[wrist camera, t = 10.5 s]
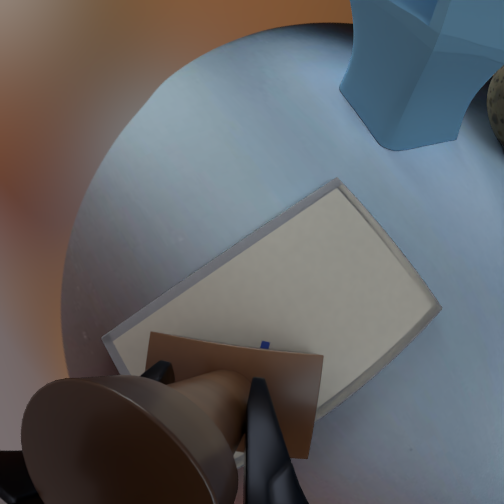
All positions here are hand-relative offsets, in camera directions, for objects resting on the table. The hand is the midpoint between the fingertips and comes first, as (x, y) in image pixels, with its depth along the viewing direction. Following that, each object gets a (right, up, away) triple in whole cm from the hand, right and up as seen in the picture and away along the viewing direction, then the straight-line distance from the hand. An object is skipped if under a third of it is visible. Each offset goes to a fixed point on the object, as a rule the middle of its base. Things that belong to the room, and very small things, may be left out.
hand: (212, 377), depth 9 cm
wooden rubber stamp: (+1, -4, +7) cm, 8 cm away
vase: (+16, +18, +14) cm, 28 cm away
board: (+3, -1, +9) cm, 9 cm away
